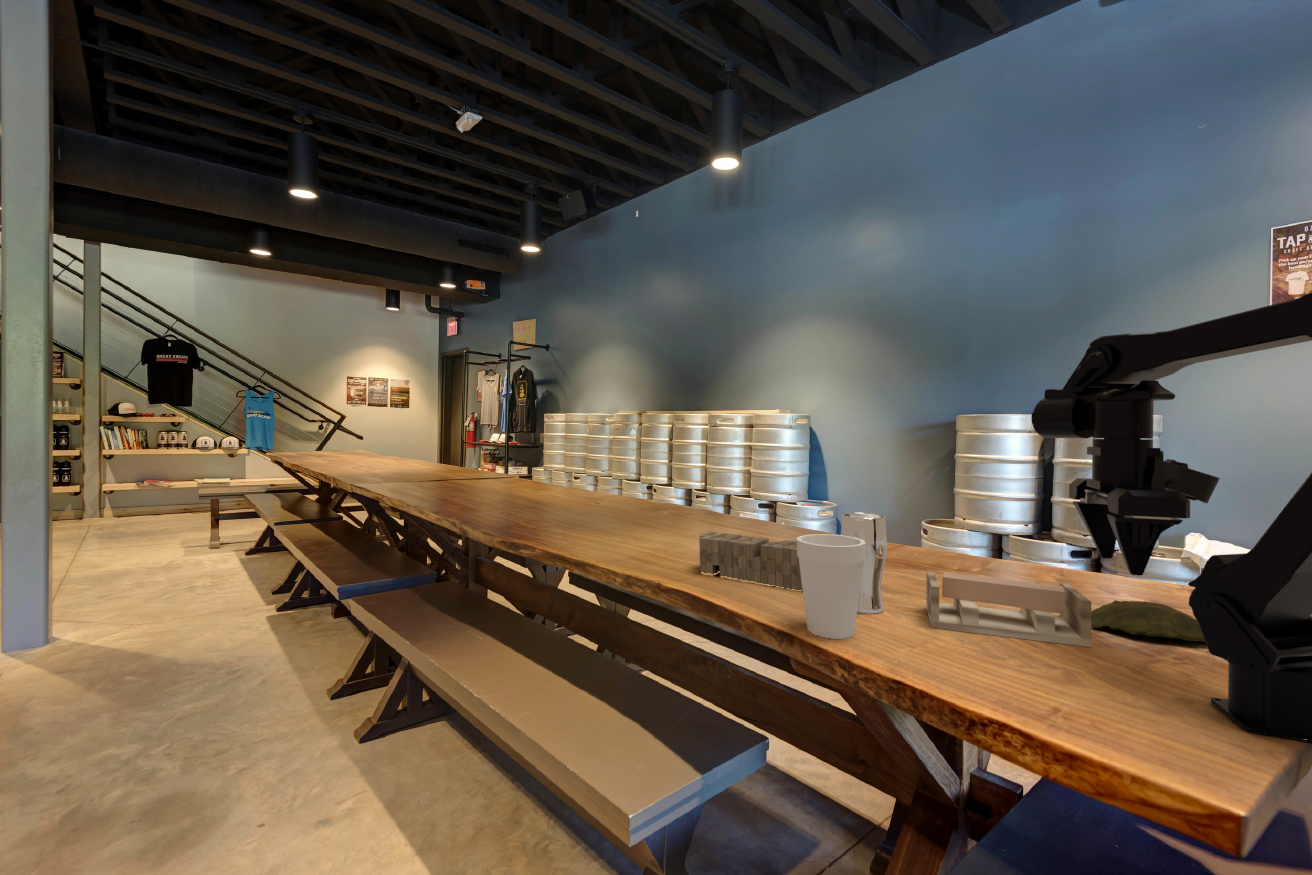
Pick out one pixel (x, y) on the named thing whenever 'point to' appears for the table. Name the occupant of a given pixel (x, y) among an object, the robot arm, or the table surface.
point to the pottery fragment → (1147, 620)
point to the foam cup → (831, 582)
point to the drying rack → (1013, 618)
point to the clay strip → (1004, 592)
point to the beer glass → (869, 556)
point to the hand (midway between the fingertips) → (1120, 565)
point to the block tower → (751, 559)
